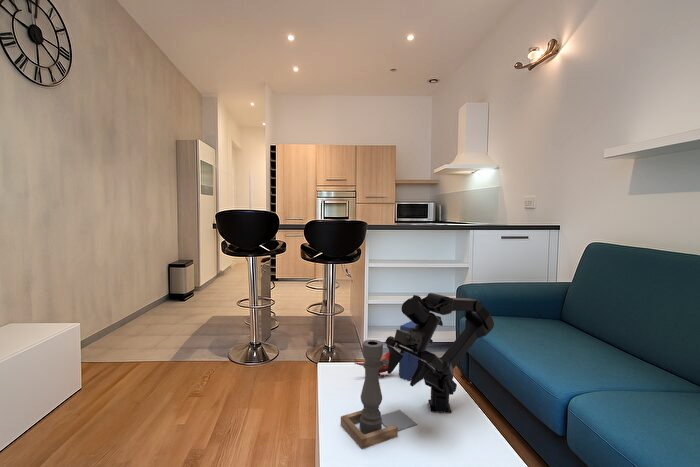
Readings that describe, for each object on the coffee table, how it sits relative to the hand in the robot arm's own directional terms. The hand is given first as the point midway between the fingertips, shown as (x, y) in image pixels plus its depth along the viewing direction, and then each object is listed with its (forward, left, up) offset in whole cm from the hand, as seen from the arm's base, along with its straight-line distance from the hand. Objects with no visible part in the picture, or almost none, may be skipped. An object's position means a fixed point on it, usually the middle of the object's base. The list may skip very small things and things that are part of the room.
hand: (399, 379), depth 102 cm
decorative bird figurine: (-31, -7, -14) cm, 34 cm away
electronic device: (-34, +6, -14) cm, 38 cm away
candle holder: (+3, -8, -14) cm, 16 cm away
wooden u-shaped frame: (+3, -8, -14) cm, 16 cm away
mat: (-3, 0, -14) cm, 14 cm away
